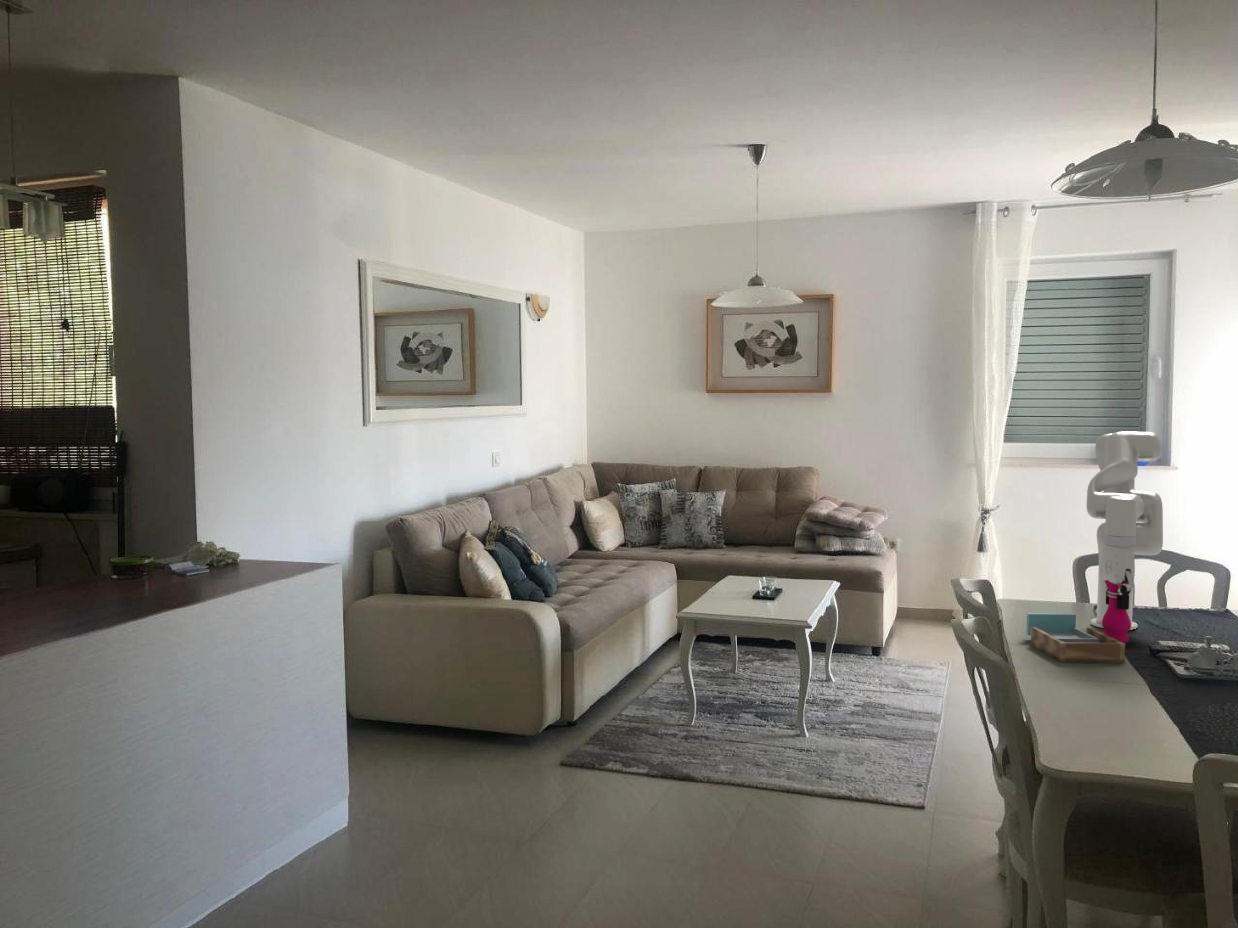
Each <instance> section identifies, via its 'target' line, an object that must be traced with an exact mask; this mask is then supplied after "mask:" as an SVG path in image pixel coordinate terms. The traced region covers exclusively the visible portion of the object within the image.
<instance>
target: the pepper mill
mask: <svg viewBox="0 0 1238 928" xmlns="http://www.w3.org/2000/svg"><path fill="white" fill-rule="evenodd" d="M1122 583H1126V581H1122ZM1106 586H1107V587H1108V589H1109V591H1108V596H1109V606H1108V609H1107V611H1106V613H1105V615H1104V616H1103V619H1102V626H1103V628H1102V629H1104V630H1105V631H1104V632H1102V633H1103V634H1105V635H1107V636H1110V637H1112V638H1114V639H1116V640H1118V641H1120V642H1122V643H1124V644H1126V643H1128V642H1129V636H1130V635H1129V634H1128V632H1129V631H1131V630H1130V628H1131V621H1130V618H1129V616H1128V614H1127V611H1126V610H1118V609H1116V600H1117V595H1119V594H1118V584H1113V583H1111V582H1110V581H1109V580H1106ZM1123 587H1126V586H1122V589H1123Z"/></svg>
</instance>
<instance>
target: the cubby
mask: <svg viewBox="0 0 1238 928" xmlns="http://www.w3.org/2000/svg"><path fill="white" fill-rule="evenodd" d="M1086 633H1088V634H1090V635H1092V636H1094V637H1096V638H1098V639H1100V642H1099V643H1095V642H1063V641H1061V640H1059V639H1057V638H1055V637H1053V636H1052V635H1050V634H1048V633H1046V632H1044V631H1042V630H1040V629H1038V628H1037V627H1032V631H1031V636H1030V646H1031V647H1033V648H1035V649H1037V650H1039V651H1040V652H1042V653H1044V654H1046V655H1047V656H1049V657H1051V658H1053V659H1054V660H1055V661H1058V662H1059V663H1071V664H1072V663H1075V664H1076V663H1077V664H1078V663H1083V664H1085V663H1086V664H1094V663H1095V664H1125V660H1126V659H1125V656H1126V654H1125V653H1126V643H1122V642H1120V641H1118V640H1116V639H1114V638H1112V637H1110V636H1107V635H1105V634H1103V633H1104V632H1100V631H1099V630H1097V629H1095V628H1093V627H1086Z"/></svg>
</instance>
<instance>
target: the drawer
mask: <svg viewBox="0 0 1238 928" xmlns="http://www.w3.org/2000/svg"><path fill="white" fill-rule="evenodd" d="M1076 623H1077V614H1076V613H1065V612H1064V613H1063V612H1062V613H1060V612H1059V613H1055V612H1054V613H1053V612H1052V613H1050V612H1049V613H1048V612H1047V613H1046V612H1043V613H1042V612H1026V630H1025V631H1026V635H1027V636H1030V637H1031V631H1032V627H1037V628H1038V629H1040V630H1042V631H1044V632H1046V633H1048V634H1050V635H1052V636H1053V637H1055V638H1057V639H1059V640H1061V641H1063V642H1095V643H1099V642H1100V639H1098V638H1096V637H1094V636H1092V635H1090V634H1088V633H1087V631H1084V630H1081V629H1080V628H1078V627H1076V626H1077V625H1076Z"/></svg>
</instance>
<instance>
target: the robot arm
mask: <svg viewBox="0 0 1238 928" xmlns="http://www.w3.org/2000/svg"><path fill="white" fill-rule="evenodd" d="M1161 441H1162V440H1161V438H1160V436H1159V435H1158V433H1155V432H1152V431H1117V432H1113V433H1105V434H1102V435H1100V436H1098V438H1097V439H1096V441H1095V447H1094V448H1095V457H1096V462H1097V465H1098V467H1099V471H1098V472H1097V473H1096V474H1095V475H1094V476H1093V477H1092V478H1091V480H1090V481H1089V484H1088V485H1087V490H1086V491H1087V493H1086V512H1087V514H1088V516H1090V517H1091V518H1093V519H1101V520H1105V522H1102V523H1101V524H1100V525H1098V527H1097V529H1096V541H1097V542H1096V543H1097V551H1098V573H1097V574H1098V576H1097V577H1098V578H1097V599H1096V601H1097V602H1096V609H1095V610H1094V612H1095V614H1096V618H1095V617H1094V618H1092V619H1091V620H1090V624H1091V625H1092V626H1093V627H1097V628H1100V629H1104V628H1103V626H1102V619H1103V616H1104V615H1105V613H1106V611H1107V609H1108V606H1109V596H1108V591H1109V589H1108V587H1107V586H1106V580H1109V581H1110V582H1111V583H1113V584H1118V594H1119V595H1117V600H1116V609H1118V610H1126V611H1127V614H1128V616H1129V618H1130V621H1131V628H1130V630H1129V631H1133V629H1135V630H1137V629H1138V628H1139V627H1138V626H1139V625H1138V623H1137V622H1134V621H1133V606H1134V588H1135V583H1134V582H1135V576H1136V575H1135V571H1136V567H1135V565H1136V564H1135V563H1136V562H1135V561H1136V560H1135V555H1137V556H1157V555H1158V554H1160V553H1161V552H1162V549H1163V545H1164V544H1163V543H1164V525H1163V523H1164V520H1163V519H1164V516H1163V515H1164V514H1163V513H1164V512H1163V511H1164V509H1163V501H1162V497H1161V496H1160V495H1159V494H1158V493H1157V492H1155V491H1149V490H1135V479H1136V477H1137V475H1138V469H1139V468H1138V462H1141V463H1142V462H1144V463H1145V462H1146V463H1148V462H1149V463H1154V462H1156V461H1158V460H1159V458H1160V456H1161V454H1162V442H1161ZM1122 581H1126V583H1122ZM1122 586H1126V587H1123V589H1122ZM1137 627H1138V628H1137ZM1136 628H1137V629H1136Z"/></svg>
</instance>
